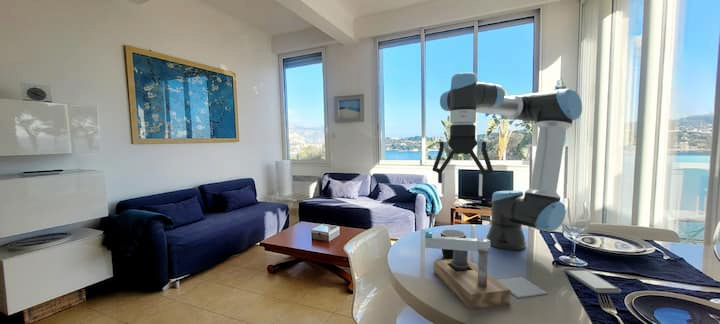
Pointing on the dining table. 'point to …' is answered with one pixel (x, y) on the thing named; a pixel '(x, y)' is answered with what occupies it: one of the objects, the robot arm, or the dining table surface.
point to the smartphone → (591, 280)
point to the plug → (460, 260)
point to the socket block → (473, 283)
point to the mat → (522, 287)
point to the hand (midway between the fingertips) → (461, 194)
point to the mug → (451, 233)
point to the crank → (457, 243)
